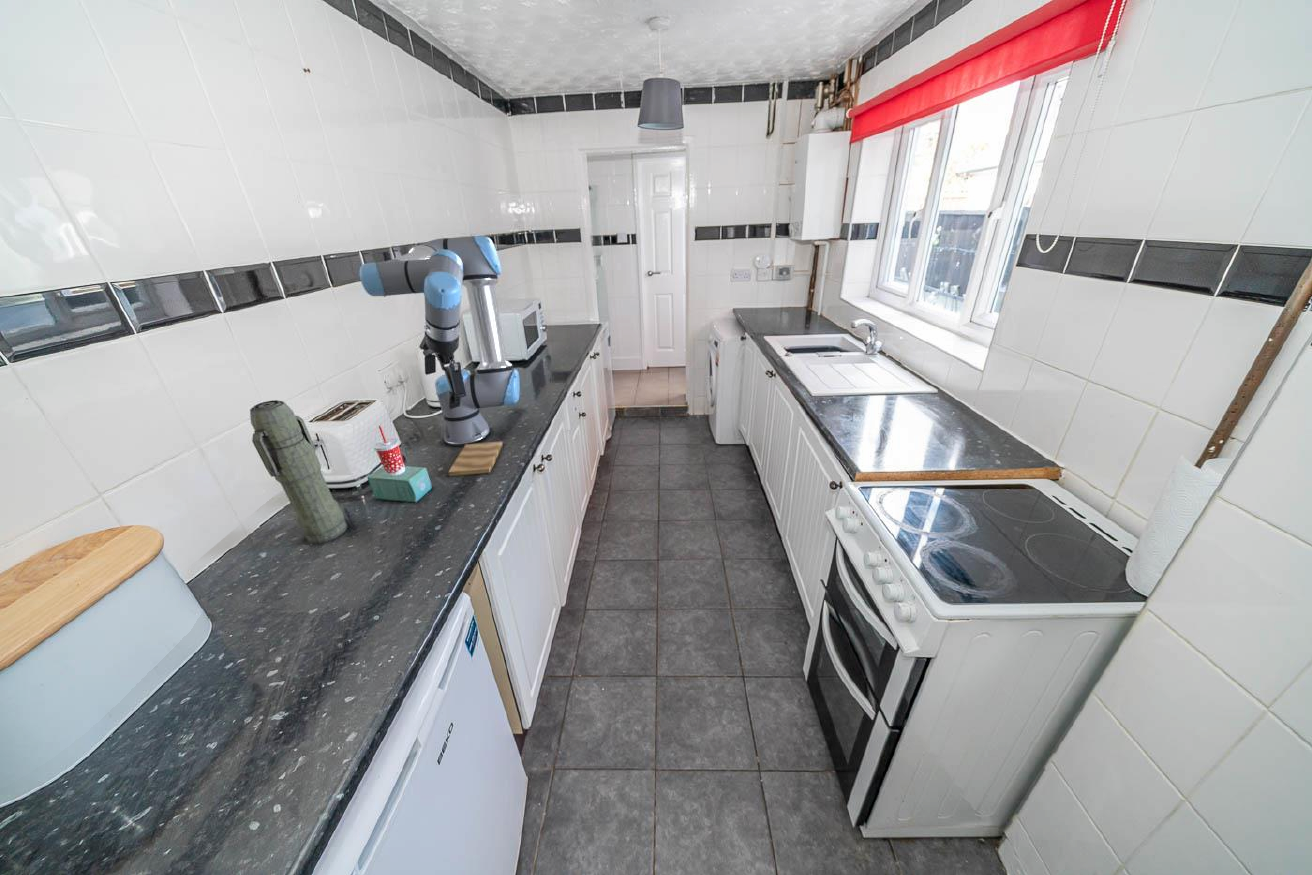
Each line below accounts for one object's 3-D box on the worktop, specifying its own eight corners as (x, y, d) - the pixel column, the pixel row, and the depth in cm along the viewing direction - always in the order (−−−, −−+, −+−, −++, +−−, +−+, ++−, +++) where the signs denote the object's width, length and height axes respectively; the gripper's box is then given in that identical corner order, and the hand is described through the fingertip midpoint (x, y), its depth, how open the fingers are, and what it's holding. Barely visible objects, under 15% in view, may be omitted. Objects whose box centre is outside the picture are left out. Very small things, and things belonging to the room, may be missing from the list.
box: (417, 503, 124) (409, 479, 121) (374, 500, 127) (365, 477, 123) (433, 488, 130) (426, 466, 127) (393, 485, 133) (384, 463, 130)
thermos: (358, 516, 120) (305, 393, 104) (330, 546, 109) (267, 413, 93) (324, 518, 120) (266, 395, 104) (294, 548, 109) (224, 416, 93)
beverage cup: (389, 467, 128) (373, 422, 121) (411, 465, 128) (396, 420, 122) (379, 478, 122) (361, 432, 116) (402, 476, 122) (386, 430, 116)
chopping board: (466, 448, 152) (465, 444, 151) (502, 445, 153) (501, 441, 152) (449, 476, 136) (448, 472, 135) (490, 472, 137) (488, 468, 136)
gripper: (402, 302, 112) (407, 362, 128) (453, 372, 106) (451, 426, 121) (432, 297, 117) (433, 355, 133) (483, 363, 110) (478, 416, 126)
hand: (442, 389), depth 127 cm, fingers open, 13 cm apart
